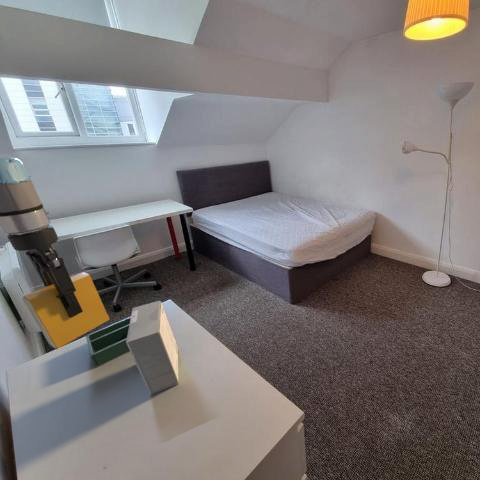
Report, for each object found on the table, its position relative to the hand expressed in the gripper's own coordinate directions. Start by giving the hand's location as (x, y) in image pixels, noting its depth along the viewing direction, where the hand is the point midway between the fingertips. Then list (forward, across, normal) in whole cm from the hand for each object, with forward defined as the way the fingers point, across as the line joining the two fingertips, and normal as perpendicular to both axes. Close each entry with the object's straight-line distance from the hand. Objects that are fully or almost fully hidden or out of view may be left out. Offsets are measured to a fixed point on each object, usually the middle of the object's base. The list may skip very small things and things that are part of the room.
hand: (72, 311), depth 70 cm
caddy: (+24, +10, -10) cm, 28 cm away
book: (+7, 0, 0) cm, 7 cm away
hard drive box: (+25, -14, -10) cm, 30 cm away
